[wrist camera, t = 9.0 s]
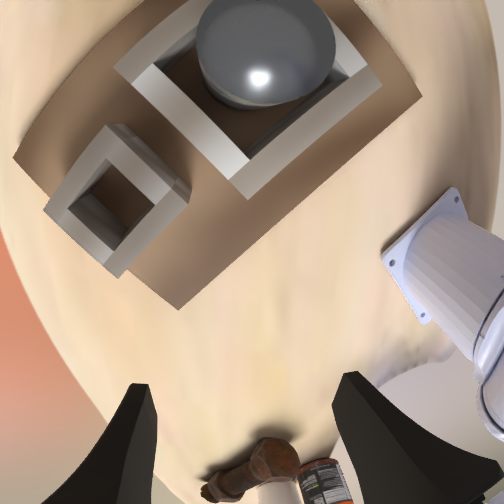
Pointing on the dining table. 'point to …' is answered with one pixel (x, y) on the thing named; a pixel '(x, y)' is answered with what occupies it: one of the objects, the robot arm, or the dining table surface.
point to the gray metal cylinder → (263, 51)
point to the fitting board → (197, 145)
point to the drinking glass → (278, 493)
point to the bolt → (254, 471)
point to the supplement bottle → (323, 483)
